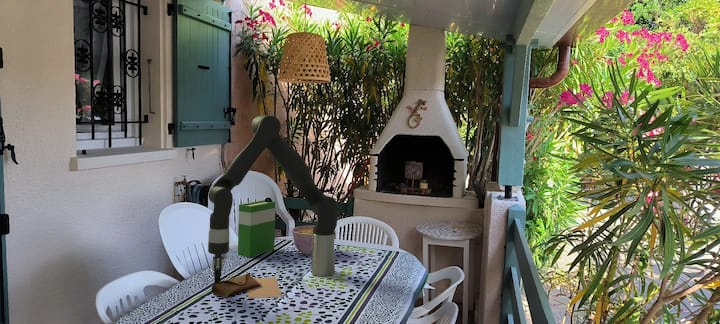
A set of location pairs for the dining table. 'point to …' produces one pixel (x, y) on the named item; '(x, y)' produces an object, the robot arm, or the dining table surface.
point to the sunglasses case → (234, 285)
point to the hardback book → (256, 228)
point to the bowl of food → (303, 239)
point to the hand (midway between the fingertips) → (217, 285)
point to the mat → (265, 289)
